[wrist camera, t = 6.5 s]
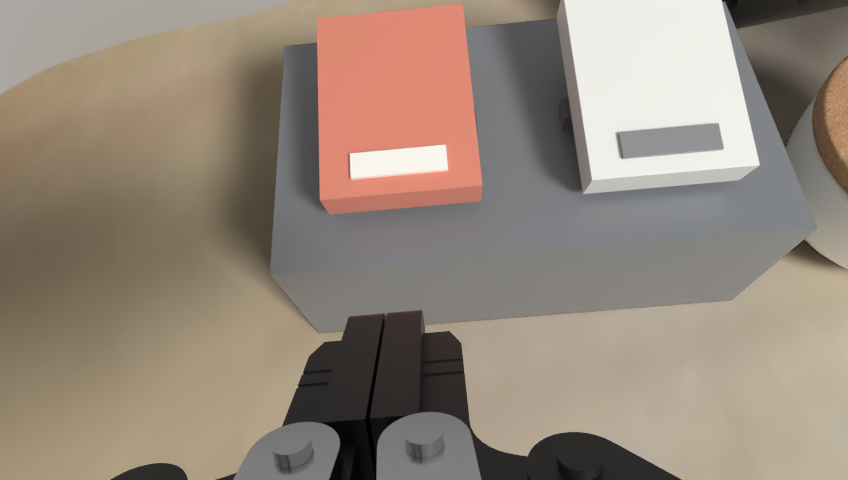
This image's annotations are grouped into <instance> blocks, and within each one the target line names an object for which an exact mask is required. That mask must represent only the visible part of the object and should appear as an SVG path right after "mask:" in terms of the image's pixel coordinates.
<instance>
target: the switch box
mask: <svg viewBox="0 0 848 480" xmlns="http://www.w3.org/2000/svg"><path fill="white" fill-rule="evenodd" d="M722 4H723V9H724V13H725V17H726V21H727V26H728V30H729V34H730V39H731V43H732V47H733V52H734V56H735V60H736V65H737V69H738V73H739V77H740V82H741V86H742V90H743V95H744V99H745V103H746V108H747V112H748V116H749V120H750V125H751V129H752V133H753V138H754V142H755V146H756V151H757V155H758V159H759V164H760V165H759V166H758V167H757V168H755V169H754V170H752V171H751V172H750V173H748V174H747V175H746V176H744V177H743V178H741V179H740V180H737V181H726V182H714V183H703V184H692V185H681V186H669V187H658V188H647V189H635V190H624V191H613V192H602V193H590V194H583V191H582V184H581V178H580V171H579V164H578V157H577V151H576V144H575V137H574V131H573V124H572V117H571V111H570V104H569V97H568V90H567V84H566V77H565V70H564V64H563V57H562V50H561V44H560V37H559V30H558V24H557V19H548V20H538V21H528V22H518V23H508V24H498V25H488V26H479V27H469V28H465V29H466V38H467V47H468V57H469V66H470V75H471V84H472V93H473V103H474V112H475V121H476V130H477V139H478V149H479V158H480V167H481V176H482V185H483V186H482V197H481V201H479V202H467V203H456V204H445V205H434V206H422V207H411V208H400V209H389V210H377V211H366V212H355V213H344V214H332V215H329V213H328V212H327V210H326V209H325V207H324V206H323V204H322V203H321V201H320V180H319V119H318V58H317V43H311V44H301V45H291V46H285V48H284V63H283V78H282V94H281V109H280V124H279V140H278V155H277V170H276V186H275V201H274V216H273V232H272V247H271V262H270V275H271V277H272V278H273V279H274V280H275V281H276V283H277V284H278V285H279V286H280V287H281V289H282V290H283V291H284V292H285V293H286V295H287V296H288V297H289V298H290V299H291V301H292V302H293V303H294V304H295V305H296V307H297V308H298V309H299V310H300V311H301V313H302V314H303V315H304V316H305V317H306V319H307V320H308V321H309V322H310V323H311V325H312V326H313V327H314V328H315V329H316V331H317V332H318V333H329V332H342V331H345V327H346V324H347V320H348V318H349V316H359V315H371V314H382V313H385V315H386V314H387V313H392V312H403V311H415V310H422V312H423V318H424V325H429V324H441V323H454V322H466V321H479V320H491V319H504V318H516V317H529V316H541V315H554V314H566V313H579V312H591V311H604V310H616V309H629V308H641V307H654V306H666V305H679V304H691V303H704V302H716V301H728V300H732V299H733V298H734V297H736V296H737V295H738V294H739V293H740V292H742V291H743V290H744V289H745V288H746V287H748V286H749V285H750V284H751V283H752V282H754V281H755V280H756V279H757V278H758V277H760V276H761V275H762V274H763V273H764V272H766V271H767V270H768V269H769V268H770V267H772V266H773V265H774V264H775V263H776V262H778V261H779V260H780V259H781V258H782V257H784V256H785V255H786V254H787V253H788V252H790V251H791V250H792V249H793V248H794V247H796V246H797V245H798V244H799V243H800V242H802V241H803V240H804V239H805V238H806V237H808V236H809V235H810V234H811V233H812V232H814V231H815V230H816V229H817V228H818V227H817V225H816V222H815V220H814V217H813V215H812V212H811V210H810V208H809V205H808V203H807V200H806V198H805V195H804V193H803V191H802V188H801V186H800V183H799V181H798V178H797V176H796V173H795V171H794V169H793V166H792V164H791V161H790V159H789V156H788V154H787V151H786V149H785V147H784V144H783V142H782V139H781V137H780V134H779V132H778V130H777V127H776V125H775V122H774V120H773V117H772V115H771V112H770V110H769V108H768V105H767V103H766V100H765V98H764V95H763V93H762V90H761V88H760V86H759V83H758V81H757V78H756V76H755V73H754V71H753V69H752V66H751V64H750V61H749V59H748V56H747V54H746V51H745V49H744V47H743V44H742V42H741V39H740V37H739V34H738V32H737V29H736V27H735V25H734V22H733V20H732V17H731V15H730V12H729V10H728V7H727V5H726V3H725V2H722Z"/></svg>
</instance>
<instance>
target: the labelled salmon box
mask: <svg viewBox="0 0 848 480" xmlns="http://www.w3.org/2000/svg"><path fill="white" fill-rule="evenodd" d="M317 58H318V119H319V180H320V201H321V203H322V204H323V206H324V207H325V209H326V210H327V212H328V213H329V215H332V214H344V213H355V212H366V211H377V210H389V209H400V208H411V207H422V206H434V205H445V204H456V203H467V202H479V201H481V197H482V186H483V185H482V176H481V167H480V158H479V149H478V139H477V130H476V121H475V112H474V103H473V93H472V84H471V75H470V66H469V57H468V47H467V38H466V29H465V20H464V11H463V4H455V5H445V6H435V7H426V8H416V9H406V10H397V11H387V12H377V13H368V14H358V15H348V16H339V17H329V18H319V19H317Z"/></svg>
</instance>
